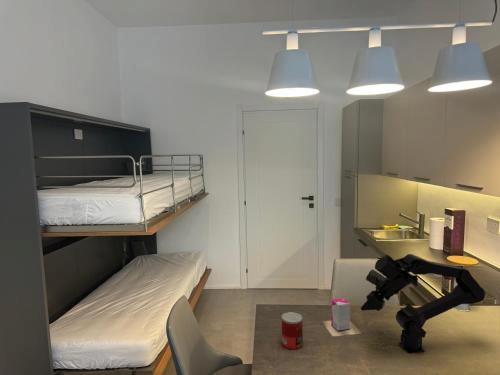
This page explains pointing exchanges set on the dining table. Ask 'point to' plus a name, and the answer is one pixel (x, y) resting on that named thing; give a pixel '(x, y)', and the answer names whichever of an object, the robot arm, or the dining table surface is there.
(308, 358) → the dining table surface
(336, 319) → the supplement box
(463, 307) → the beer glass
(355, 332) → the oak board
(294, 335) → the canned food
